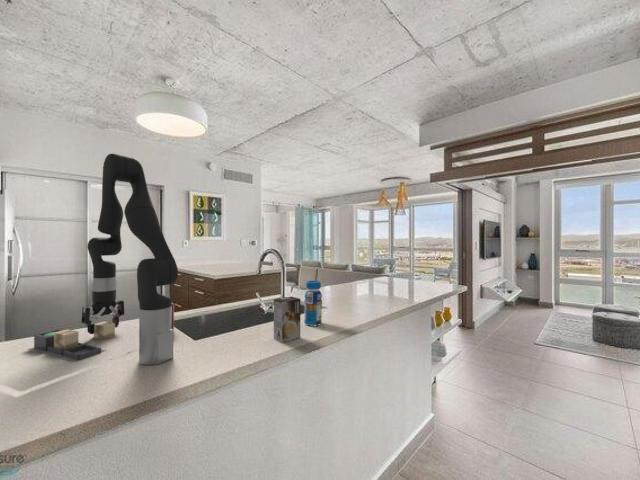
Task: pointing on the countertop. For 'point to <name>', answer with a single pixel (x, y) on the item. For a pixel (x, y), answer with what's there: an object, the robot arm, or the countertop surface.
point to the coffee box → (286, 319)
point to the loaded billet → (65, 339)
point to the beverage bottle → (313, 303)
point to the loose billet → (104, 330)
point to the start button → (49, 334)
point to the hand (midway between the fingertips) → (103, 330)
